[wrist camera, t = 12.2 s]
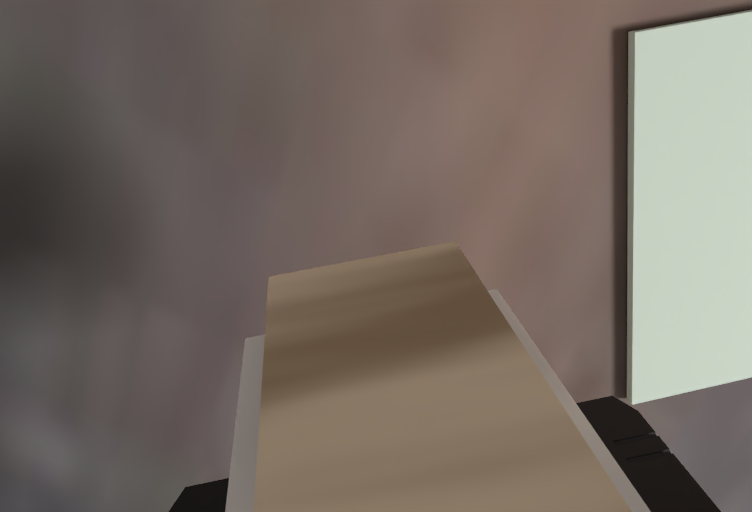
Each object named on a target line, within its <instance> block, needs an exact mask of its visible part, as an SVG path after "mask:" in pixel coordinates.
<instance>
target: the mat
mask: <svg viewBox="0 0 752 512" xmlns="http://www.w3.org/2000/svg"><path fill="white" fill-rule="evenodd" d="M751 377H752V10H748V11H742V12H737V13H731V14H725V15H720V16H714V17H709V18H703V19H698V20H692V21H686V22H681V23H675V24H670V25H664V26H658V27H653V28H647V29H642V30H636V31H630V32H628V228H627V400H628V401H629V402H630V403H631V404H632V405H633V404H637V403H642V402H646V401H650V400H655V399H659V398H664V397H668V396H672V395H677V394H681V393H685V392H690V391H694V390H698V389H703V388H707V387H711V386H716V385H720V384H724V383H729V382H733V381H738V380H742V379H746V378H751Z"/></svg>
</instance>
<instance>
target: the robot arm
mask: <svg viewBox="0 0 752 512" xmlns="http://www.w3.org/2000/svg"><path fill="white" fill-rule="evenodd" d="M488 292H489V294H490V295H491V297H492V299H493V300H494V302H495V303H496V305H497V306H498V308H499V309H500V311H501V312H502V314H503V315H504V317H505V318H506V320H507V321H508V323H509V325H510V326H511V328H512V329H513V331H514V332H515V334H516V335H517V337H518V338H519V340H520V341H521V343H522V344H523V346H524V348H525V349H526V351H527V352H528V354H529V355H530V357H531V358H532V360H533V361H534V363H535V364H536V366H537V367H538V369H539V370H540V372H541V374H542V375H543V377H544V378H545V380H546V381H547V383H548V384H549V386H550V387H551V389H552V390H553V392H554V393H555V395H556V396H557V398H558V400H559V401H560V403H561V404H562V406H563V407H564V409H565V410H566V412H567V413H568V415H569V416H570V418H571V419H572V421H573V422H574V424H575V426H576V427H577V429H578V430H579V432H580V433H581V435H582V436H583V438H584V439H585V441H586V442H587V444H588V445H589V447H590V449H591V450H592V452H593V453H594V455H595V456H596V458H597V459H598V461H599V462H600V464H601V465H602V467H603V468H604V470H605V471H606V473H607V475H608V476H609V478H610V479H611V481H612V482H613V484H614V485H615V487H616V488H617V490H618V491H619V493H620V494H621V496H622V497H623V499H624V501H625V502H626V504H627V505H628V507H629V508H630V510H631V511H632V512H721V511H720V510H719V509H718V508H717V506H716V505H715V504H714V503H713V502H712V500H711V499H710V498H709V497H708V495H707V494H706V493H705V492H704V491H703V489H702V488H701V487H700V486H699V485H698V483H697V482H696V481H695V480H694V478H693V477H692V476H691V475H690V474H689V472H688V471H687V470H686V469H685V468H684V466H683V465H682V464H681V463H680V461H679V460H678V459H677V458H676V457H675V455H674V454H671V453H670V451H669V448H668V447H667V446H666V444H665V443H664V442H663V441H662V440H661V438H660V437H659V436H656V434H655V431H654V430H653V429H652V427H651V426H650V425H649V424H648V423H647V421H646V420H645V419H644V418H643V417H642V415H641V414H640V413H639V412H638V411H637V410H635V409H634V408H632V407H630V406H629V405H627V404H625V403H624V402H622V401H620V400H619V399H617V398H615V397H614V396H609V397H604V398H600V399H595V400H590V401H585V402H580V403H575V401H574V400H573V398H572V397H571V395H570V394H569V392H568V391H567V390H566V388H565V387H564V385H563V384H562V382H561V381H560V379H559V378H558V377H557V375H556V374H555V372H554V371H553V369H552V368H551V366H550V365H549V363H548V362H547V361H546V359H545V358H544V356H543V355H542V353H541V352H540V350H539V349H538V348H537V346H536V345H535V343H534V342H533V340H532V339H531V337H530V336H529V335H528V333H527V332H526V330H525V329H524V327H523V326H522V324H521V323H520V322H519V320H518V319H517V317H516V316H515V314H514V313H513V311H512V310H511V308H510V307H509V306H508V304H507V303H506V301H505V300H504V298H503V297H502V295H501V294H500V293H499V291H498V290H497V289H493V290H488ZM264 341H265V335H260V336H255V337H250V338H245V344H244V353H243V361H242V370H241V379H240V387H239V396H238V405H237V413H236V422H235V431H234V439H233V448H232V456H231V465H230V474H229V478H227V479H223V480H218V481H213V482H208V483H203V484H199V485H194V486H189V487H185V489H184V490H183V491H182V493H181V494H180V496H179V497H178V499H177V500H176V502H175V503H174V505H173V506H172V508H171V509H170V511H169V512H253V511H254V495H255V480H256V464H257V449H258V433H259V418H260V402H261V387H262V371H263V356H264Z"/></svg>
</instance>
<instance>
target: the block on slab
mask: <svg viewBox="0 0 752 512" xmlns="http://www.w3.org/2000/svg"><path fill="white" fill-rule="evenodd" d="M253 512H632V511H631V510H630V508H629V507H628V505H627V504H626V502H625V501H624V499H623V497H622V496H621V494H620V493H619V491H618V490H617V488H616V487H615V485H614V484H613V482H612V481H611V479H610V478H609V476H608V475H607V473H606V471H605V470H604V468H603V467H602V465H601V464H600V462H599V461H598V459H597V458H596V456H595V455H594V453H593V452H592V450H591V449H590V447H589V445H588V444H587V442H586V441H585V439H584V438H583V436H582V435H581V433H580V432H579V430H578V429H577V427H576V426H575V424H574V422H573V421H572V419H571V418H570V416H569V415H568V413H567V412H566V410H565V409H564V407H563V406H562V404H561V403H560V401H559V400H558V398H557V396H556V395H555V393H554V392H553V390H552V389H551V387H550V386H549V384H548V383H547V381H546V380H545V378H544V377H543V375H542V374H541V372H540V370H539V369H538V367H537V366H536V364H535V363H534V361H533V360H532V358H531V357H530V355H529V354H528V352H527V351H526V349H525V348H524V346H523V344H522V343H521V341H520V340H519V338H518V337H517V335H516V334H515V332H514V331H513V329H512V328H511V326H510V325H509V323H508V321H507V320H506V318H505V317H504V315H503V314H502V312H501V311H500V309H499V308H498V306H497V305H496V303H495V302H494V300H493V299H492V297H491V295H490V294H489V292H488V291H487V289H486V288H485V286H484V285H483V283H482V282H481V280H480V279H479V277H478V276H477V274H476V273H475V271H474V269H473V268H472V266H471V265H470V263H469V262H468V260H467V259H466V257H465V256H464V254H463V253H462V251H461V250H460V248H459V247H458V245H457V243H456V242H455V241H453V242H448V243H443V244H438V245H433V246H427V247H422V248H417V249H412V250H406V251H401V252H396V253H391V254H385V255H380V256H375V257H370V258H365V259H359V260H354V261H349V262H344V263H338V264H333V265H328V266H323V267H318V268H312V269H307V270H302V271H297V272H291V273H286V274H281V275H276V276H270V277H269V279H268V294H267V310H266V325H265V341H264V356H263V371H262V387H261V402H260V418H259V433H258V449H257V464H256V480H255V495H254V511H253Z"/></svg>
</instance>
